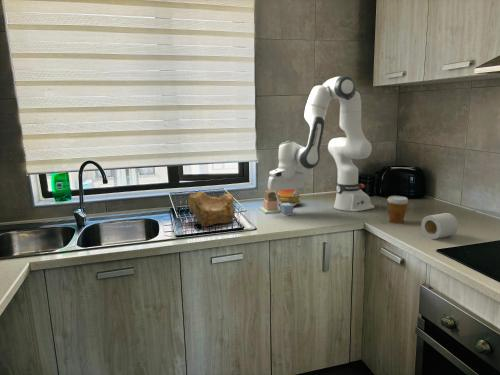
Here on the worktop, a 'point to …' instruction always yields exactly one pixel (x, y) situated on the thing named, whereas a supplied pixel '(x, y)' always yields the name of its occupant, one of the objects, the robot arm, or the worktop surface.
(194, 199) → the rough brown rock
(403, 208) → the disposable coffee cup
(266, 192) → the walnut block
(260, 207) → the baseplate
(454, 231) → the toilet paper
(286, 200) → the burger
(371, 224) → the worktop surface
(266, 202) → the terracotta block
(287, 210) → the slate blue block
